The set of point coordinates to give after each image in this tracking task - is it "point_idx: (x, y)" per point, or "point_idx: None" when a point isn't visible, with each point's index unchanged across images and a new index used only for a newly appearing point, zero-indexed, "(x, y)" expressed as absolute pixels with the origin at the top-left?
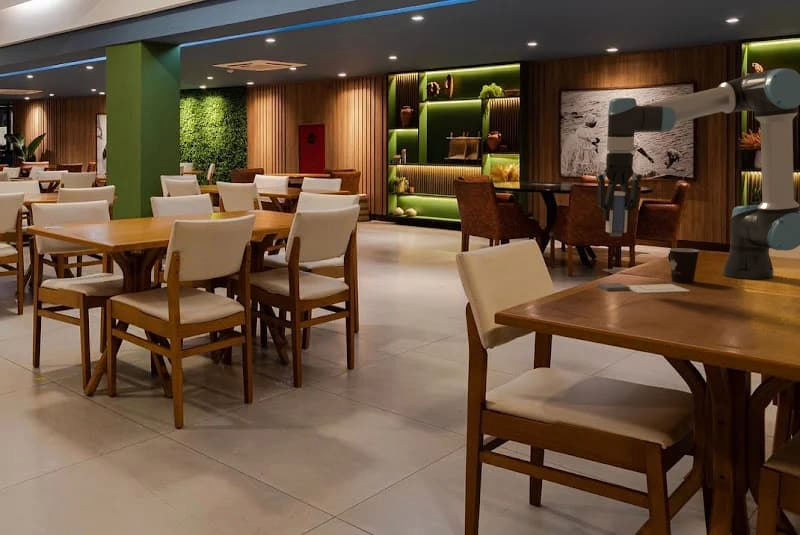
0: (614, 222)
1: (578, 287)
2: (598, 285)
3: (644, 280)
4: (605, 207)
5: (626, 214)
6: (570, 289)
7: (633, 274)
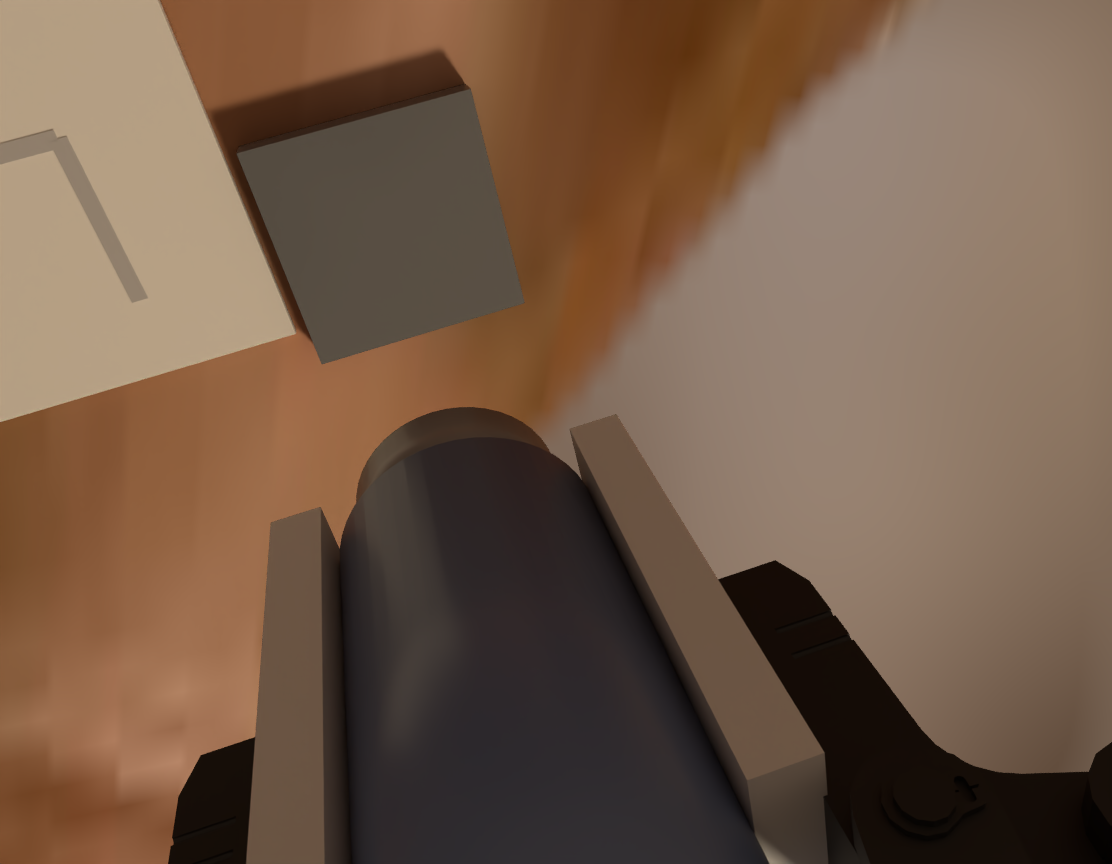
0: (580, 551)
1: (680, 248)
2: (516, 280)
3: (78, 636)
4: (1016, 829)
5: (280, 830)
6: (768, 146)
7: (166, 828)
